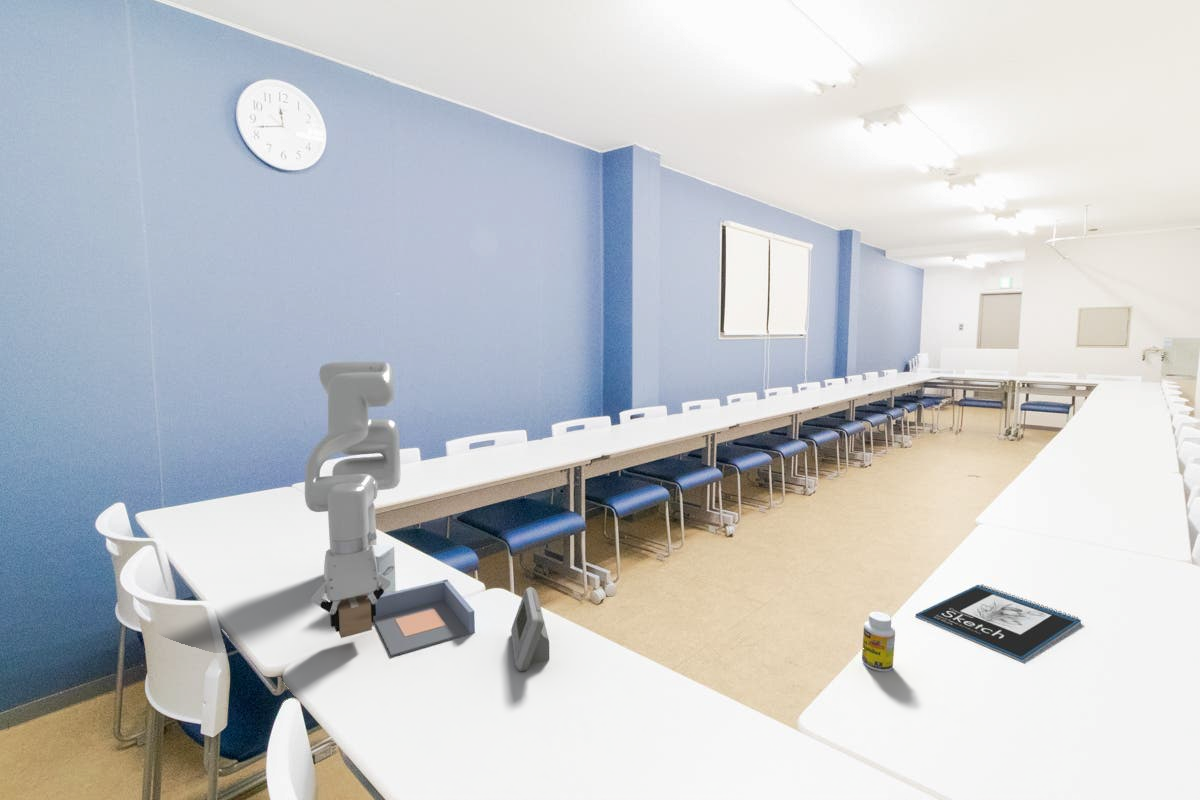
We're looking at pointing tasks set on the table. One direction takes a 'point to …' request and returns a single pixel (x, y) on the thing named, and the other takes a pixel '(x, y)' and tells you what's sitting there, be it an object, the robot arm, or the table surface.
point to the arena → (422, 617)
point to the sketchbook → (1000, 621)
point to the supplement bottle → (878, 642)
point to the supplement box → (386, 565)
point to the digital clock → (529, 632)
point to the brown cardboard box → (354, 615)
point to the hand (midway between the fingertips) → (353, 623)
